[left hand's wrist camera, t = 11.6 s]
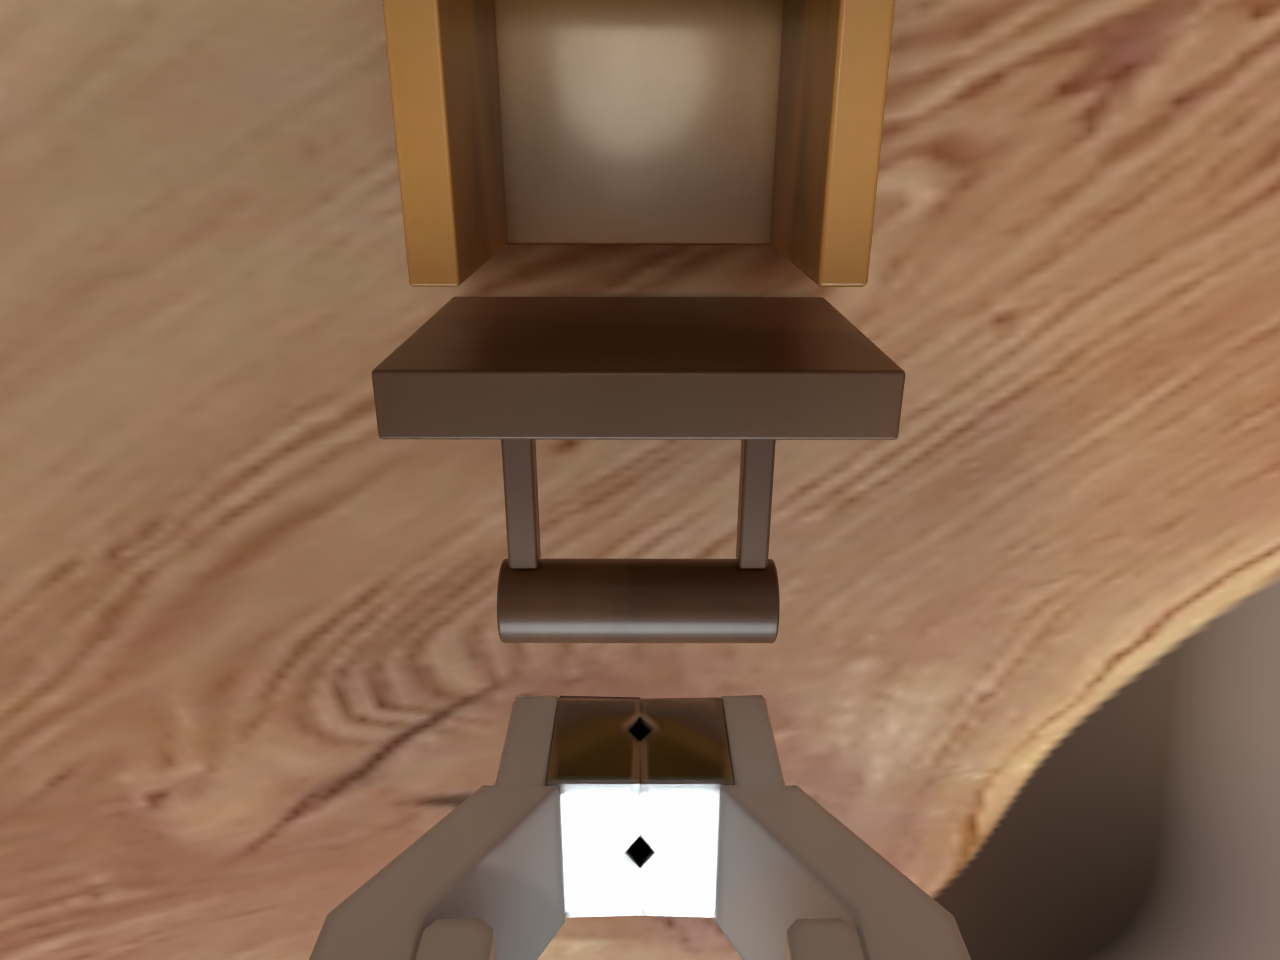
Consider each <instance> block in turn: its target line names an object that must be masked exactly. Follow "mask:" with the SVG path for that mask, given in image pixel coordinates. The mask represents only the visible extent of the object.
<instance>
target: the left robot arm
mask: <svg viewBox="0 0 1280 960" xmlns="http://www.w3.org/2000/svg"><path fill="white" fill-rule="evenodd" d="M633 915H645V916H680V917H715V918H716V923H717V924H718V925H719V927H720V928H721V929H722V931H723V932H724V934H725V935H726V936H727V938H728V939H729V940H730V942H731V943H732V945H733V946H734V947H735V949H736V950H737V952H738V953H739V954H740V956H741V957H742V958H743V960H971V959H970V956H969V954H968V951H967V949H966V946H965V944H964V941H963V939H962V936H961V934H960V931H959V929H958V926H957V924H956V921H955V919H954V916H953V915H952V914H950V913H949V912H948V911H947V910H945V909H944V908H943V907H942V906H941V905H940V904H938V903H937V902H936V901H935V900H934V899H932V898H931V897H930V896H929V895H928V894H926V893H925V892H924V891H923V890H922V889H920V888H919V887H918V886H917V885H916V884H914V883H913V882H912V881H911V880H910V879H908V878H907V877H906V876H905V875H904V874H902V873H901V872H900V871H899V870H898V869H896V868H895V867H894V866H893V865H892V864H890V863H889V862H888V861H887V860H886V859H884V858H883V857H882V856H881V855H880V854H878V853H877V852H876V851H875V850H874V849H872V848H871V847H870V846H869V845H868V844H866V843H865V842H864V841H863V840H862V839H861V838H859V837H858V836H857V835H856V834H855V833H853V832H852V831H851V830H850V829H849V828H847V827H846V826H845V825H844V824H843V823H841V822H840V821H839V820H838V819H837V818H835V817H834V816H833V815H832V814H831V813H829V812H828V811H827V810H826V809H825V808H823V807H822V806H821V805H820V804H819V803H817V802H816V801H815V800H814V799H813V798H811V797H810V796H809V795H808V794H807V793H805V792H804V791H803V790H802V789H801V788H799V787H798V786H785V783H784V779H783V774H782V770H781V766H780V761H779V757H778V752H777V748H776V743H775V739H774V735H773V730H772V726H771V721H770V717H769V713H768V708H767V704H766V700H765V698H764V697H763V696H762V695H752V696H722V697H721V698H642V699H640V698H636V697H589V696H560V697H559V698H558V697H557V696H518V697H517V698H516V700H515V701H514V703H513V707H512V712H511V716H510V721H509V725H508V729H507V734H506V738H505V743H504V747H503V752H502V756H501V761H500V765H499V770H498V774H497V779H496V783H495V786H482V787H481V788H479V789H478V790H477V791H476V792H475V793H473V794H472V795H471V796H470V797H469V798H467V799H466V800H465V801H464V802H463V803H461V804H460V805H459V806H458V807H457V808H455V809H454V810H453V811H452V812H451V813H449V814H448V815H447V816H446V817H445V818H443V819H442V820H441V821H440V822H438V823H437V824H436V825H435V826H434V827H432V828H431V829H430V830H429V831H428V832H426V833H425V834H424V835H423V836H422V837H420V838H419V839H418V840H417V841H416V842H414V843H413V844H412V845H411V846H410V847H408V848H407V849H406V850H405V851H404V852H402V853H401V854H400V855H399V856H398V857H396V858H395V859H394V860H393V861H392V862H390V863H389V864H388V865H387V866H386V867H384V868H383V869H382V870H381V871H380V872H378V873H377V874H376V875H375V876H374V877H372V878H371V879H370V880H369V881H367V882H366V883H365V884H364V885H363V886H361V887H360V888H359V889H358V890H357V891H355V892H354V893H353V894H352V895H351V896H349V897H348V898H347V899H346V900H345V901H343V902H342V903H341V904H340V905H339V906H337V907H336V908H335V909H334V910H333V911H331V912H330V913H329V914H328V915H327V917H326V920H325V922H324V925H323V927H322V930H321V932H320V934H319V937H318V939H317V942H316V944H315V947H314V949H313V952H312V954H311V957H310V959H309V960H537V959H538V958H539V956H540V955H541V954H542V952H543V951H544V950H545V948H546V947H547V945H548V944H549V943H550V941H551V940H552V939H553V937H554V936H555V935H556V933H557V932H558V930H559V929H560V928H561V926H562V925H563V924H564V922H565V921H564V918H565V917H599V916H633Z"/></svg>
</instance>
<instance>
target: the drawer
mask: <svg viewBox="0 0 1280 960" xmlns="http://www.w3.org/2000/svg"><path fill="white" fill-rule="evenodd" d="M894 5H895V0H383V9H384V19H385V30H386V41H387V51H388V62H389V72H390V83H391V93H392V104H393V114H394V125H395V135H396V146H397V157H398V167H399V178H400V188H401V199H402V209H403V220H404V230H405V241H406V251H407V262H408V273H409V283H410V285H411V286H459V285H460V284H461V283H462V282H463V281H465V280H466V279H467V278H468V277H469V276H470V275H472V274H473V273H474V272H475V271H476V270H477V269H479V268H480V267H481V266H482V265H483V264H484V263H485V262H487V261H488V260H489V259H490V258H491V257H492V256H494V255H495V254H496V253H497V252H498V251H499V250H501V249H502V248H503V247H504V246H505V245H506V244H511V245H773V246H774V247H775V248H776V249H777V250H778V251H779V252H781V253H782V254H783V255H784V256H785V257H786V258H788V259H789V260H790V261H791V262H792V263H793V264H795V265H796V266H797V267H798V268H799V269H800V270H801V271H803V272H804V273H805V274H806V275H807V276H808V277H810V278H811V279H812V280H813V281H814V282H815V283H817V284H818V285H819V286H821V287H863V286H865V285H866V284H867V282H868V272H869V262H870V251H871V241H872V231H873V221H874V210H875V200H876V190H877V179H878V169H879V159H880V149H881V138H882V128H883V118H884V108H885V97H886V87H887V77H888V67H889V56H890V46H891V36H892V26H893V15H894ZM372 382H373V390H374V399H375V408H376V416H377V425H378V434H379V437H380V438H381V439H501V443H502V459H503V476H504V493H505V509H506V526H507V543H508V559H504V560H503V562H502V565H501V568H500V573H499V580H498V591H497V621H498V630H499V636H500V639H501V641H502V642H504V643H773V642H775V640H776V637H777V633H778V626H779V584H778V576H777V570H776V566H775V563H774V561H773V560H772V559H768V552H769V536H770V520H771V504H772V488H773V473H774V457H775V441H776V440H895V439H897V437H898V432H899V424H900V415H901V407H902V399H903V390H904V382H905V372H904V371H903V370H902V369H901V368H900V367H899V366H898V365H897V364H896V363H895V362H893V361H892V360H891V359H890V358H889V357H888V356H887V355H886V354H885V353H884V352H882V351H881V350H880V349H879V348H878V347H877V346H876V345H875V344H874V343H873V342H871V341H870V340H869V339H868V338H867V337H866V336H865V335H864V334H863V333H862V332H860V331H859V330H858V329H857V328H856V327H855V326H854V325H853V324H852V323H851V322H849V321H848V320H847V319H846V318H845V317H844V316H843V315H842V314H841V313H840V312H838V311H837V310H836V309H835V308H834V307H833V306H832V305H831V304H830V303H829V302H827V301H826V300H825V299H824V298H788V297H454V298H452V299H451V300H450V301H449V302H448V303H447V304H446V305H445V306H444V307H442V308H441V309H440V310H439V311H438V312H437V313H436V314H435V315H434V316H432V317H431V318H430V319H429V320H428V321H427V322H426V323H425V324H424V325H422V326H421V327H420V328H419V329H418V330H417V331H416V332H415V333H414V334H413V335H411V336H410V337H409V338H408V339H407V340H406V341H405V342H404V343H403V344H401V345H400V346H399V347H398V348H397V349H396V350H395V351H394V352H393V353H391V354H390V355H389V356H388V357H387V358H386V359H385V360H384V361H383V362H382V363H380V364H379V365H378V366H377V367H376V368H375V369H374V370H373V371H372ZM535 439H669V440H742V443H741V464H740V484H739V505H738V526H737V547H736V557H737V559H540V556H541V553H540V531H539V509H538V486H537V464H536V442H535Z"/></svg>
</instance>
